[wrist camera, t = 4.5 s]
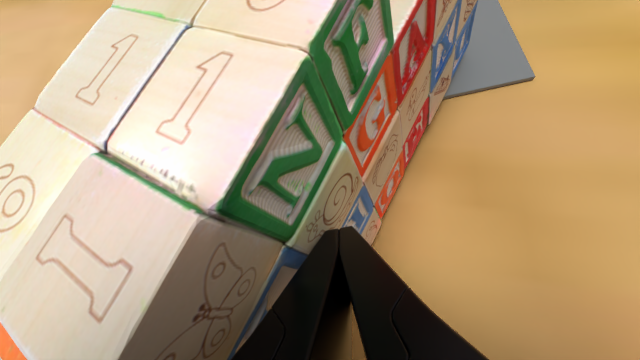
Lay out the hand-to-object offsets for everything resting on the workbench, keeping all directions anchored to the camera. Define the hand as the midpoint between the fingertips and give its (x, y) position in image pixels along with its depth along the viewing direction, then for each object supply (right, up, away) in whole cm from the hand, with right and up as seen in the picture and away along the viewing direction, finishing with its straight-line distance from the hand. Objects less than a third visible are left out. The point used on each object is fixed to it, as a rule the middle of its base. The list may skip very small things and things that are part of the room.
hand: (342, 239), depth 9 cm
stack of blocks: (+1, +2, +8) cm, 9 cm away
